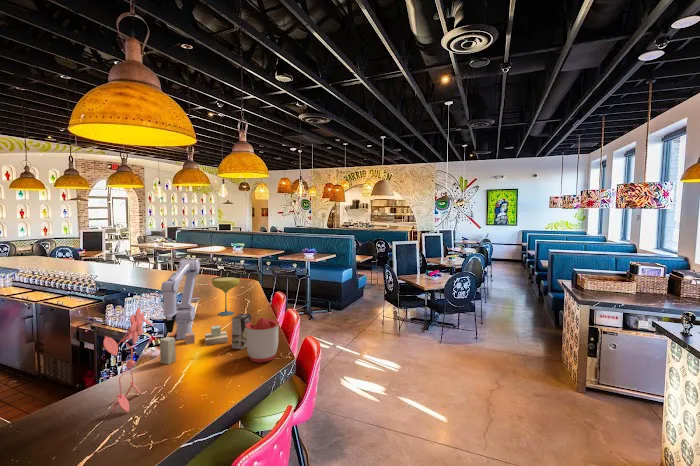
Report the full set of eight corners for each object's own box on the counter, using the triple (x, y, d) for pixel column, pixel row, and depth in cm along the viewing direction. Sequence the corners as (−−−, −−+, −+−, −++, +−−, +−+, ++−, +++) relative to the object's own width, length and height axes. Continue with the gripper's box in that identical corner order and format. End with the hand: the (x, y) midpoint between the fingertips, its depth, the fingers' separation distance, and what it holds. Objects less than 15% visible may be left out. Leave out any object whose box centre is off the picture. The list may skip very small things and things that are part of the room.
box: (176, 360, 158) (175, 337, 158) (168, 364, 154) (168, 340, 154) (167, 359, 160) (167, 336, 159) (159, 362, 156) (159, 339, 155)
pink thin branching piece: (95, 427, 108) (96, 320, 107) (131, 387, 134) (132, 300, 132) (147, 423, 111) (148, 319, 110) (173, 385, 136) (174, 300, 135)
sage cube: (211, 334, 185) (211, 326, 185) (219, 333, 187) (219, 325, 187) (211, 337, 181) (211, 328, 181) (220, 336, 183) (220, 327, 183)
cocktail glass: (245, 312, 237) (244, 278, 236) (223, 319, 222) (223, 282, 221) (228, 308, 247) (228, 275, 246) (206, 314, 232) (206, 278, 230)
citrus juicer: (266, 348, 175) (266, 310, 174) (285, 358, 163) (285, 317, 162) (238, 356, 164) (238, 316, 163) (255, 368, 152) (255, 324, 151)
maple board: (205, 338, 187) (204, 333, 187) (225, 335, 192) (225, 330, 192) (205, 345, 177) (205, 340, 177) (227, 342, 182) (227, 337, 182)
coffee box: (242, 349, 172) (242, 318, 172) (231, 348, 174) (231, 317, 173) (251, 343, 181) (251, 313, 181) (240, 342, 183) (240, 312, 182)
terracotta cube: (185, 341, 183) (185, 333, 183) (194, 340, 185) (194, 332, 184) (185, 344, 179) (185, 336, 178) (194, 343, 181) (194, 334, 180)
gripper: (178, 306, 167) (178, 333, 168) (179, 300, 181) (179, 324, 181) (162, 308, 164) (162, 335, 165) (164, 301, 178) (164, 326, 178)
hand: (170, 330), depth 173 cm, fingers open, 7 cm apart
